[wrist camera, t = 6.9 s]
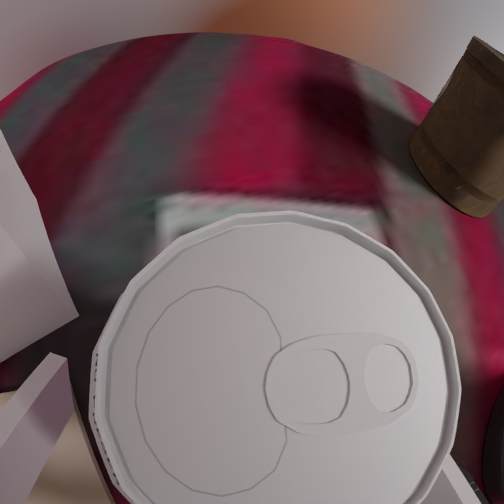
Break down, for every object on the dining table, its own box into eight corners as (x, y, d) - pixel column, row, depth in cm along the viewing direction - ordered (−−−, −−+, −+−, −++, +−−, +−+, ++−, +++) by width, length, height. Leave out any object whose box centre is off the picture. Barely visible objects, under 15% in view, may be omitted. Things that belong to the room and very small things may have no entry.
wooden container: (460, 146, 40) (526, 46, 22) (503, 222, 33) (596, 117, 14) (392, 126, 37) (461, -5, 19) (438, 214, 30) (555, 63, 11)
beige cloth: (146, 559, 11) (145, 563, 10) (9, 559, 7) (4, 562, 6) (71, 381, 16) (66, 379, 16) (-49, 403, 12) (-55, 402, 12)
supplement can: (160, 470, 15) (78, 584, 2) (161, 344, 19) (104, 176, 6) (293, 468, 16) (481, 518, 3) (286, 347, 20) (430, 208, 7)
